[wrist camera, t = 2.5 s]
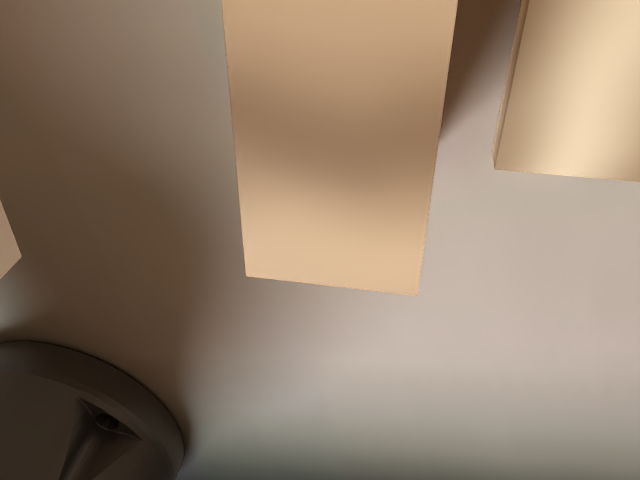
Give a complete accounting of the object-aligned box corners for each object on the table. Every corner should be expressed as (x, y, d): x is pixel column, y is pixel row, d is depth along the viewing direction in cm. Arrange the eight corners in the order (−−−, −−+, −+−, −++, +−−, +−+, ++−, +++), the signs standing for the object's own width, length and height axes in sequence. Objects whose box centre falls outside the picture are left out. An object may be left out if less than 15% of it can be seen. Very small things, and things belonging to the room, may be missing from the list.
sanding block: (425, 155, 23) (417, 295, 17) (301, 145, 24) (245, 276, 17) (457, -106, 18) (465, -56, 11) (298, -110, 19) (215, -65, 12)
